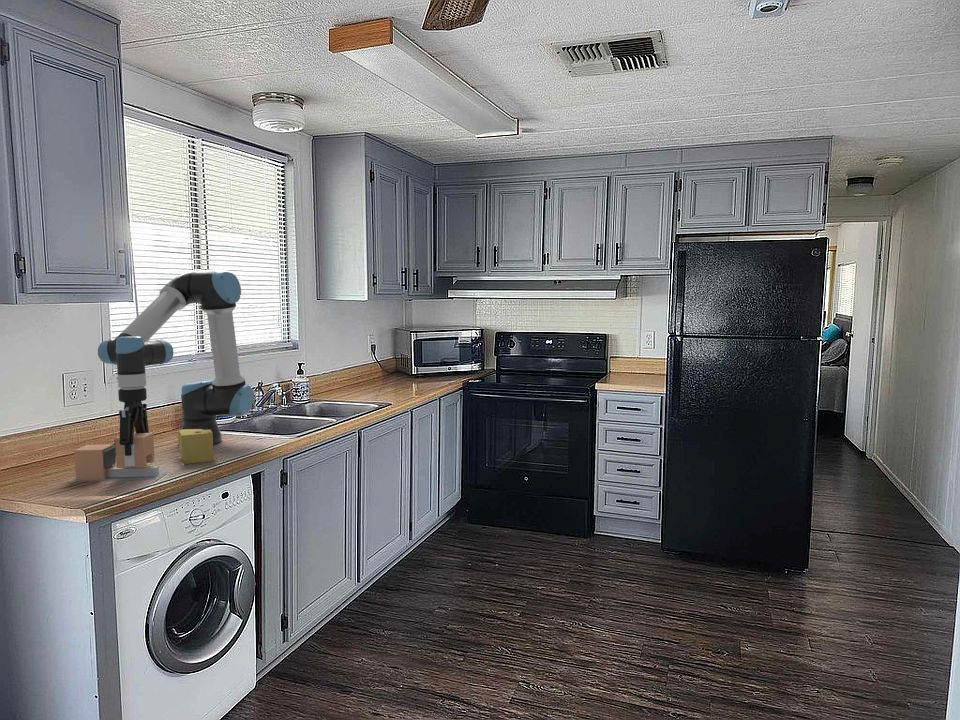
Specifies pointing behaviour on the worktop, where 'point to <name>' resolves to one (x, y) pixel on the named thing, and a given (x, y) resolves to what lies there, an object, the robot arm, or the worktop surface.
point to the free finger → (136, 450)
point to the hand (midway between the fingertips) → (136, 462)
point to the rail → (130, 474)
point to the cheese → (196, 445)
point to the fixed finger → (94, 461)
